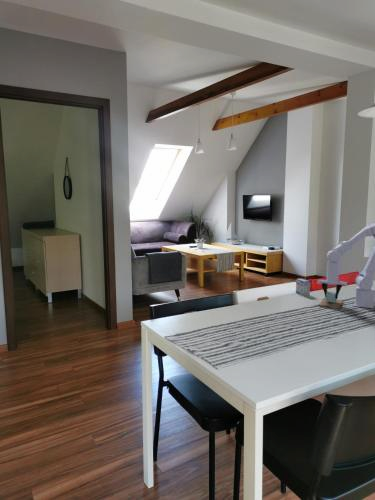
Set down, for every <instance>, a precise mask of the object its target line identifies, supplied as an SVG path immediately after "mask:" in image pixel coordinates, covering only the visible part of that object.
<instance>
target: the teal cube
mask: <svg viewBox="0 0 375 500" xmlns="http://www.w3.org/2000/svg"><path fill="white" fill-rule="evenodd" d="M336 300H337V299H336V291H327V293H326V302H334V303H335V302H336Z"/></svg>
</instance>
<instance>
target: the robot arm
mask: <svg viewBox="0 0 375 500" xmlns="http://www.w3.org/2000/svg"><path fill="white" fill-rule="evenodd" d="M368 237H373V238H374V239H375V221H374V222H371V223H369V224H368V225H365V227H363V228H362V229H361V230H360V231H359V232H358V233H356V234H355V235H353V236H352V237H351V238H350V239H349V240H344V241H340V242H339V244H338V245H337V246H336V247H333V248H332V250H328V252H327V253H326V259H327V263H326V279H317V282H316V283H317V284H319V285H321V288H322V290H323V293H324V297H325V298H326V293H327V292H328V286H330V285H332V286H336V287H335V292H336V300H338V297H339V293H340V291H341V289H342V287H347V286H348V285H347V284H348V282H347V281H340V280H339V268H340V267H339V266H340V265H339V263H340V262H339V261H340V260H341V258H342V257H343V256H345V255H346V254H348V253H349V252H350V251H352V250H353V246H354V245H356V244H357V243H359V242H360V241H362V240H363V239H365V238H368ZM374 274H375V245H374V247H373V248H372V251H371V253H370V255H369V256H368V260H367V262H366V263H365V266H364V268H363V270H362V271H360V273H359V274H358V275H357V276H356V277H355V279H354V280H355V282H354V283H355V284H356V286H355V299H354V303H353V306H354V307H359V308H367V309H374V308H375V290H374V289H372V287H373V283H374V282H373V281H374V279H375V276H374Z"/></svg>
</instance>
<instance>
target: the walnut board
mask: <svg viewBox="0 0 375 500" xmlns="http://www.w3.org/2000/svg"><path fill="white" fill-rule="evenodd" d="M343 302H344V301H343V300H342V299H336V302H335V303H334V302H326V298H322V299H321V301H320V303H319V305H318V306H319V307H321V308H330V309H338V310H340V309H341V306H342V305H343Z"/></svg>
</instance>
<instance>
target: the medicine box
mask: <svg viewBox="0 0 375 500" xmlns="http://www.w3.org/2000/svg"><path fill="white" fill-rule="evenodd" d="M310 292H311V281H310V280H307V279H304V278H296V284H295V293H296V294H297V295H300V294H301V295H300V296H302V295H303V297H307V296H310V295H311V293H310Z"/></svg>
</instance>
